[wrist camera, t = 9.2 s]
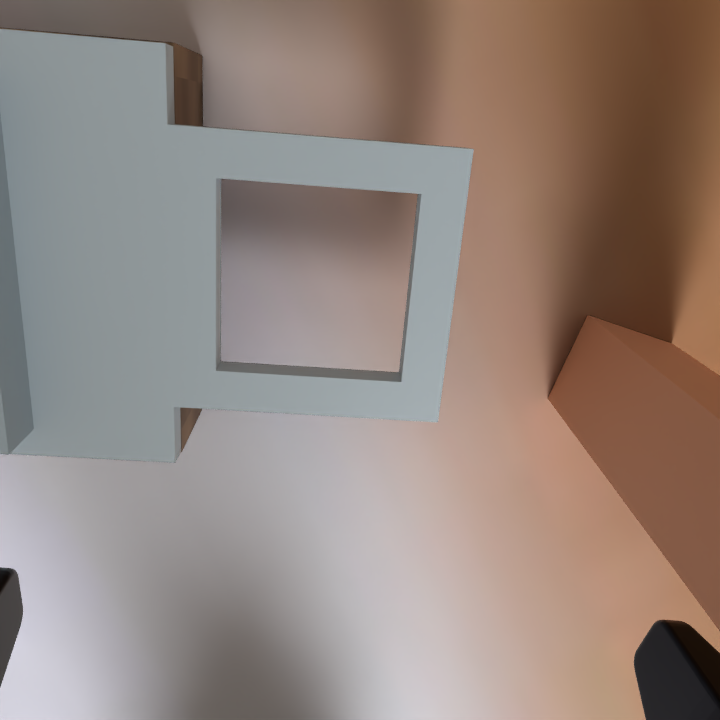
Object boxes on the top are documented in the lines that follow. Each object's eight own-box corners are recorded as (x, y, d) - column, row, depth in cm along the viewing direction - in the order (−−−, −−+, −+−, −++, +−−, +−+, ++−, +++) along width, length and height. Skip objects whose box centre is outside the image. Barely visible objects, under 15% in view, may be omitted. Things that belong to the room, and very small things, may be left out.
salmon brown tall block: (633, 434, 26) (942, 769, 12) (535, 403, 25) (752, 720, 12) (684, 337, 24) (1093, 598, 11) (583, 303, 24) (886, 534, 10)
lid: (477, 73, 17) (497, 66, 15) (427, 463, 21) (437, 504, 19) (-484, -11, 16) (-620, -33, 14) (-343, 421, 20) (-429, 459, 18)
